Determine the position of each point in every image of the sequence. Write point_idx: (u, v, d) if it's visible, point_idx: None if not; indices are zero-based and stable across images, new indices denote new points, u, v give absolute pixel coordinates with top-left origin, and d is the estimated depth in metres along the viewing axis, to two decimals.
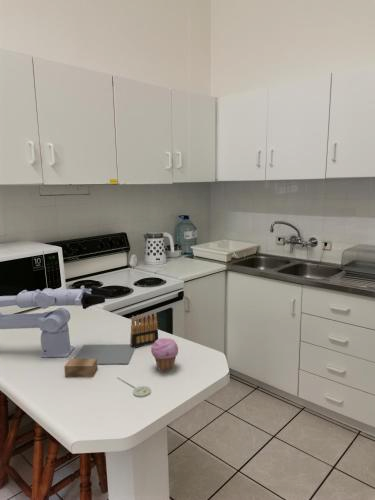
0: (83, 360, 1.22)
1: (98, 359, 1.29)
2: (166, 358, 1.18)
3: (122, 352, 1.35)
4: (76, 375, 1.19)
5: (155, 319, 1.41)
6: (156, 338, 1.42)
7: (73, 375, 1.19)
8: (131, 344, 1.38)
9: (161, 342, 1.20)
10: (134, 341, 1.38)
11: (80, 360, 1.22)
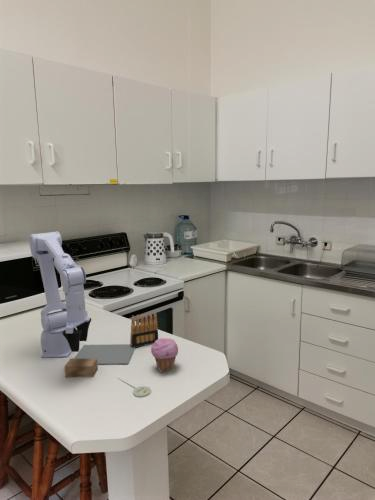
0: (83, 360, 1.22)
1: (98, 359, 1.29)
2: (166, 358, 1.18)
3: (122, 352, 1.35)
4: (76, 375, 1.19)
5: (155, 319, 1.41)
6: (156, 338, 1.42)
7: (73, 375, 1.19)
8: (131, 344, 1.38)
9: (161, 342, 1.20)
10: (134, 341, 1.38)
11: (80, 360, 1.22)
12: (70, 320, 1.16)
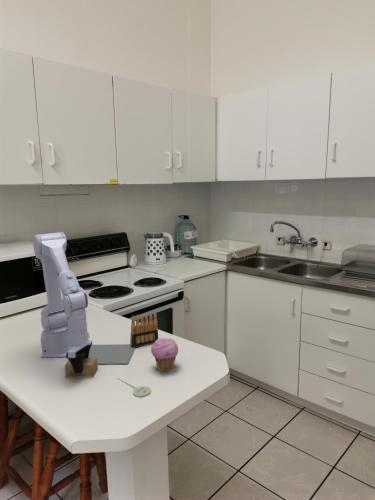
0: (83, 359, 1.22)
1: (98, 359, 1.29)
2: (166, 358, 1.18)
3: (122, 352, 1.35)
4: (76, 374, 1.19)
5: (155, 319, 1.41)
6: (156, 338, 1.42)
7: (73, 375, 1.19)
8: (131, 344, 1.38)
9: (161, 342, 1.20)
10: (134, 341, 1.38)
11: None
12: (72, 344, 1.17)
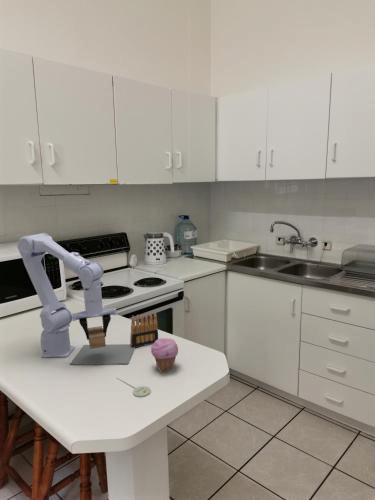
0: (99, 331, 1.28)
1: (98, 359, 1.29)
2: (166, 358, 1.18)
3: (122, 352, 1.35)
4: None
5: (155, 319, 1.41)
6: (156, 338, 1.42)
7: None
8: (131, 344, 1.38)
9: (161, 342, 1.20)
10: (134, 341, 1.38)
11: (99, 330, 1.29)
12: None
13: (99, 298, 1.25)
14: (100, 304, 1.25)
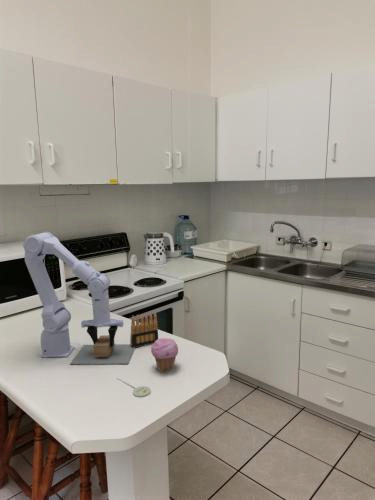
0: (107, 340, 1.33)
1: (98, 359, 1.29)
2: (166, 358, 1.18)
3: (122, 352, 1.35)
4: None
5: (155, 319, 1.41)
6: (156, 338, 1.42)
7: None
8: (131, 344, 1.38)
9: (161, 342, 1.20)
10: (134, 341, 1.38)
11: (108, 339, 1.34)
12: None
13: (108, 308, 1.30)
14: (106, 315, 1.29)
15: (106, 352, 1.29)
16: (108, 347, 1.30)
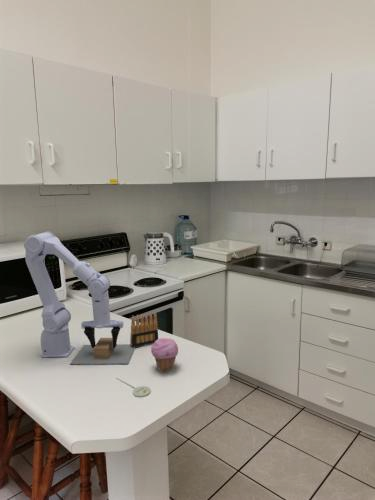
0: (107, 343, 1.33)
1: (98, 359, 1.29)
2: (166, 358, 1.18)
3: (122, 352, 1.35)
4: None
5: (155, 319, 1.41)
6: (156, 338, 1.42)
7: None
8: (131, 344, 1.38)
9: (161, 342, 1.20)
10: (134, 341, 1.38)
11: (108, 342, 1.34)
12: None
13: (108, 309, 1.30)
14: (106, 316, 1.29)
15: (106, 355, 1.29)
16: (108, 350, 1.30)
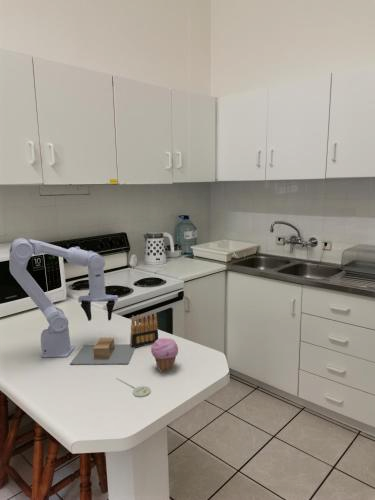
0: (107, 343, 1.33)
1: (98, 359, 1.29)
2: (166, 358, 1.18)
3: (122, 352, 1.35)
4: None
5: (155, 319, 1.41)
6: (156, 338, 1.42)
7: None
8: (131, 344, 1.38)
9: (161, 342, 1.20)
10: (134, 341, 1.38)
11: (108, 342, 1.34)
12: None
13: (104, 282, 1.41)
14: (101, 290, 1.38)
15: (106, 355, 1.29)
16: (108, 350, 1.30)
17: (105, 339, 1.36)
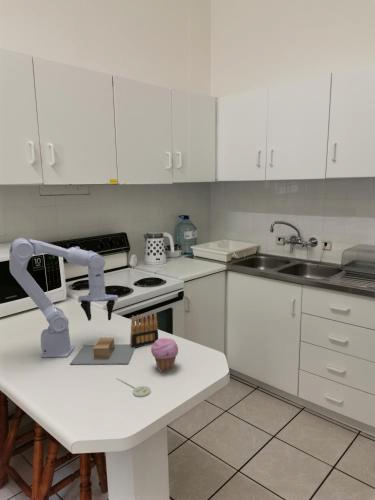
0: (107, 343, 1.33)
1: (98, 359, 1.29)
2: (166, 358, 1.18)
3: (122, 352, 1.35)
4: None
5: (155, 319, 1.41)
6: (156, 338, 1.42)
7: None
8: (131, 344, 1.38)
9: (161, 342, 1.20)
10: (134, 341, 1.38)
11: (108, 342, 1.34)
12: None
13: None
14: (101, 290, 1.38)
15: (106, 355, 1.29)
16: (108, 350, 1.30)
17: (105, 339, 1.36)
